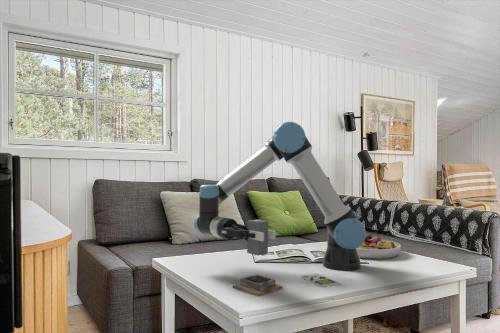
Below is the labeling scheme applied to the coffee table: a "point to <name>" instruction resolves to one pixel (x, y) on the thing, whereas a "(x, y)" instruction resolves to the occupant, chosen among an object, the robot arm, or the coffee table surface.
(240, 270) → the coffee table surface
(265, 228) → the block
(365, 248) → the bowl
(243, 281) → the tray
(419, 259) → the coffee table surface
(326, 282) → the handheld gaming device
